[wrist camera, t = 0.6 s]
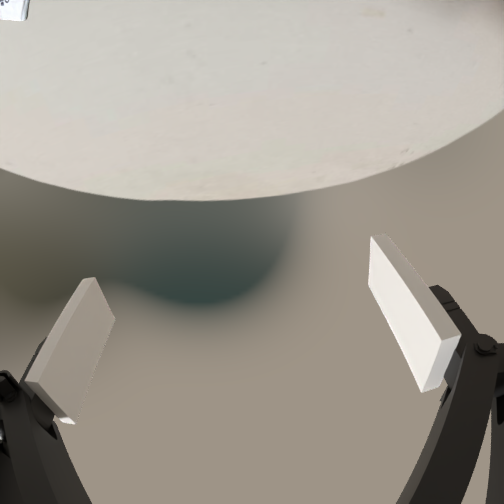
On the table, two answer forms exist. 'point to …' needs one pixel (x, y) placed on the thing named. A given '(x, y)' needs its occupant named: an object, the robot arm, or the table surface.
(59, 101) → the table surface
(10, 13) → the folded white cloth
